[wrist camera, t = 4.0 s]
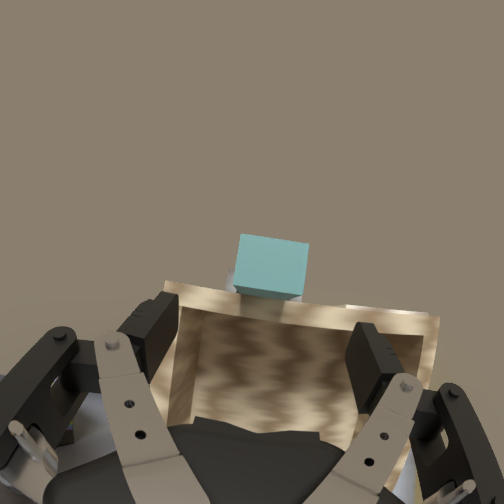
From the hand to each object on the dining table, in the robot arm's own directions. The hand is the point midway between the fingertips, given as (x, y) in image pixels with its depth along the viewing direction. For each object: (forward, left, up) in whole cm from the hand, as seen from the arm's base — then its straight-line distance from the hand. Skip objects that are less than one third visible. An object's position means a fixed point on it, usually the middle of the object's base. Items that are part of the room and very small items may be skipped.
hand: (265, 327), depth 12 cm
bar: (0, +14, +2) cm, 15 cm away
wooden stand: (+5, +19, -30) cm, 36 cm away
